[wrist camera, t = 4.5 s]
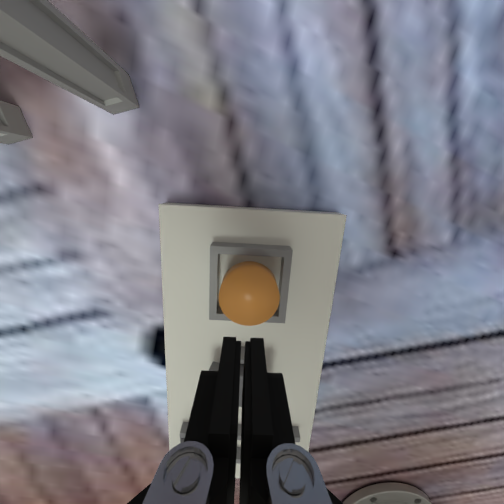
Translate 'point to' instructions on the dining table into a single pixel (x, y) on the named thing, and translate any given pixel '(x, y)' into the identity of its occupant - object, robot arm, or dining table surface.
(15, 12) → the stool
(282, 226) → the switch panel
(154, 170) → the dining table surface
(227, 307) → the push button
